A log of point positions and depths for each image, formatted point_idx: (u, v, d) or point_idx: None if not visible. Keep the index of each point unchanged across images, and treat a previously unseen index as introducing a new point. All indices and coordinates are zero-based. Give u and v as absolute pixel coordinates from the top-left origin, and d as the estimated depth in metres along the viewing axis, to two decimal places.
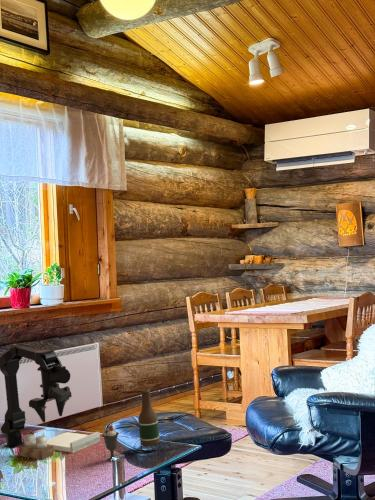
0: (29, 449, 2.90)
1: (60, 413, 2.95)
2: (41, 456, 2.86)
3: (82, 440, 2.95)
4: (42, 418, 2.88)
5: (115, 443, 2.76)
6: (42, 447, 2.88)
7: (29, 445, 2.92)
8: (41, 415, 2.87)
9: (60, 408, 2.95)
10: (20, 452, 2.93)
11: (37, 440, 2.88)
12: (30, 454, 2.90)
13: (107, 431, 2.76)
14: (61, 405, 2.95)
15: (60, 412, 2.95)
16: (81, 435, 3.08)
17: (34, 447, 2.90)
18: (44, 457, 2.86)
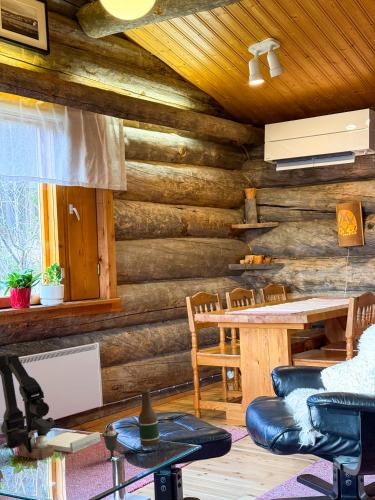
0: None
1: None
2: (41, 456, 2.86)
3: (82, 440, 2.95)
4: (28, 449, 2.89)
5: (115, 443, 2.76)
6: (42, 447, 2.88)
7: None
8: (27, 446, 2.88)
9: None
10: (20, 452, 2.93)
11: (37, 440, 2.88)
12: (30, 454, 2.90)
13: (107, 431, 2.76)
14: None
15: None
16: (81, 435, 3.08)
17: (34, 447, 2.90)
18: (44, 457, 2.86)
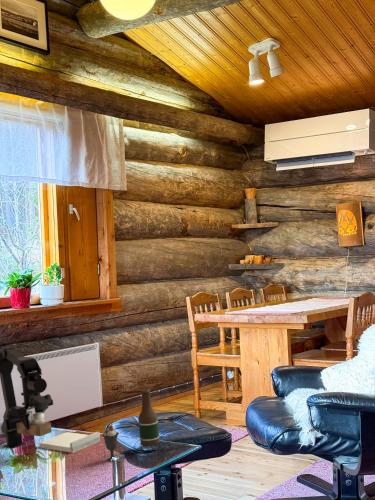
0: None
1: None
2: (39, 432, 2.85)
3: (82, 440, 2.95)
4: (26, 425, 2.88)
5: (115, 443, 2.76)
6: (40, 423, 2.87)
7: None
8: (25, 422, 2.88)
9: None
10: (18, 429, 2.93)
11: (35, 416, 2.87)
12: (28, 431, 2.89)
13: (107, 431, 2.76)
14: None
15: None
16: (81, 435, 3.08)
17: (32, 424, 2.90)
18: (42, 433, 2.86)
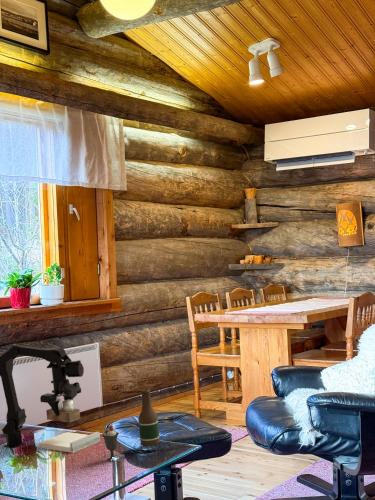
0: None
1: None
2: (68, 418, 2.97)
3: (82, 440, 2.95)
4: (56, 412, 3.00)
5: (115, 443, 2.76)
6: (69, 410, 2.99)
7: None
8: (55, 409, 3.00)
9: None
10: (48, 415, 3.05)
11: (64, 403, 2.99)
12: (57, 417, 3.01)
13: (107, 431, 2.76)
14: None
15: None
16: (81, 435, 3.08)
17: (61, 410, 3.02)
18: (71, 419, 2.98)
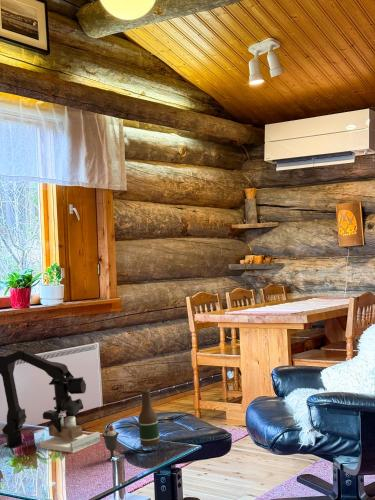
0: None
1: None
2: (71, 435, 2.98)
3: (82, 440, 2.95)
4: (58, 428, 3.01)
5: (115, 443, 2.76)
6: (71, 427, 3.00)
7: None
8: (57, 426, 3.00)
9: None
10: (50, 432, 3.05)
11: (67, 420, 3.00)
12: (60, 434, 3.02)
13: (107, 431, 2.76)
14: None
15: None
16: None
17: (63, 427, 3.02)
18: (73, 436, 2.98)
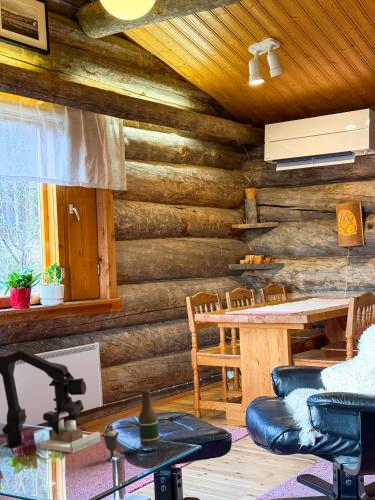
0: (59, 432, 3.02)
1: None
2: (71, 439, 2.98)
3: (82, 440, 2.95)
4: (56, 431, 3.00)
5: (115, 443, 2.76)
6: (72, 430, 3.00)
7: (59, 429, 3.04)
8: (55, 428, 2.99)
9: None
10: (50, 436, 3.05)
11: (67, 424, 3.00)
12: (60, 438, 3.02)
13: (107, 431, 2.76)
14: (74, 418, 3.07)
15: None
16: None
17: (64, 431, 3.02)
18: (74, 440, 2.98)
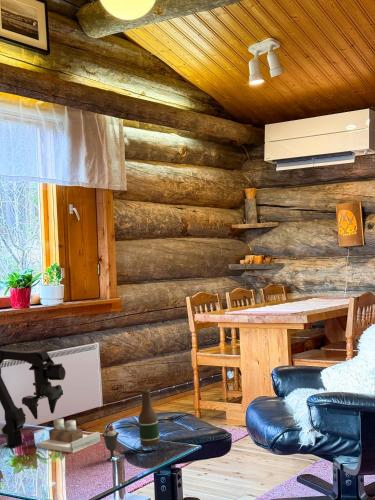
0: (59, 432, 3.02)
1: (52, 410, 3.07)
2: (71, 439, 2.98)
3: (82, 440, 2.95)
4: (34, 415, 2.99)
5: (115, 443, 2.76)
6: (72, 430, 3.00)
7: (59, 429, 3.04)
8: (33, 412, 2.99)
9: (52, 405, 3.07)
10: (50, 436, 3.05)
11: (67, 424, 3.00)
12: (60, 438, 3.02)
13: (107, 431, 2.76)
14: (53, 403, 3.07)
15: (52, 409, 3.07)
16: None
17: (64, 431, 3.02)
18: (74, 440, 2.98)
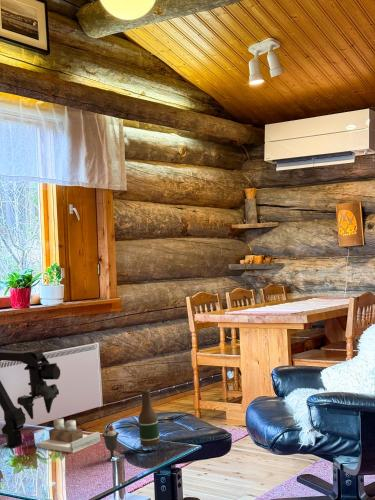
0: (59, 432, 3.02)
1: (48, 410, 3.07)
2: (71, 439, 2.98)
3: (82, 440, 2.95)
4: (30, 415, 2.99)
5: (115, 443, 2.76)
6: (72, 430, 3.00)
7: (59, 429, 3.04)
8: (29, 412, 2.99)
9: (48, 405, 3.07)
10: (50, 436, 3.05)
11: (67, 424, 3.00)
12: (60, 438, 3.02)
13: (107, 431, 2.76)
14: (49, 402, 3.07)
15: (48, 409, 3.07)
16: None
17: (64, 431, 3.02)
18: (74, 440, 2.98)
